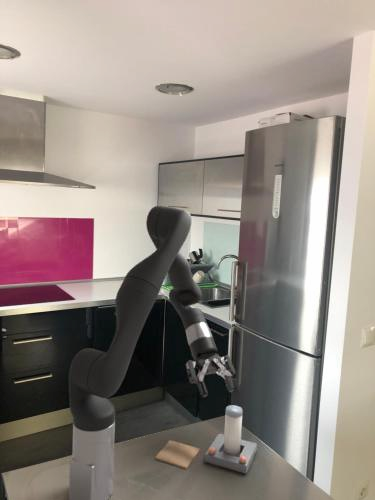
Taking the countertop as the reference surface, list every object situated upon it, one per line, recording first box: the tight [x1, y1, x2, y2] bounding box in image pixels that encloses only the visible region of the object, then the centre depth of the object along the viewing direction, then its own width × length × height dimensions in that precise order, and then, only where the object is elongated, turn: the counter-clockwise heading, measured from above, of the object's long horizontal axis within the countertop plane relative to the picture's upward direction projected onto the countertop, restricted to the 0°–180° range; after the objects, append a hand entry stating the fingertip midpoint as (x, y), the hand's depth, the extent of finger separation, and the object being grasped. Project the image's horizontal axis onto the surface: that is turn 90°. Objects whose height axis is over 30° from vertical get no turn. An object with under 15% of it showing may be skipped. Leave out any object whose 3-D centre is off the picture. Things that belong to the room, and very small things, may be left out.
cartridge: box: [223, 404, 243, 457], centre depth 107 cm, size 4×4×13 cm
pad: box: [154, 439, 201, 470], centre depth 108 cm, size 9×9×1 cm
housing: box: [204, 433, 258, 475], centre depth 108 cm, size 11×11×4 cm
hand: (218, 393), depth 113 cm, fingers open, 8 cm apart
